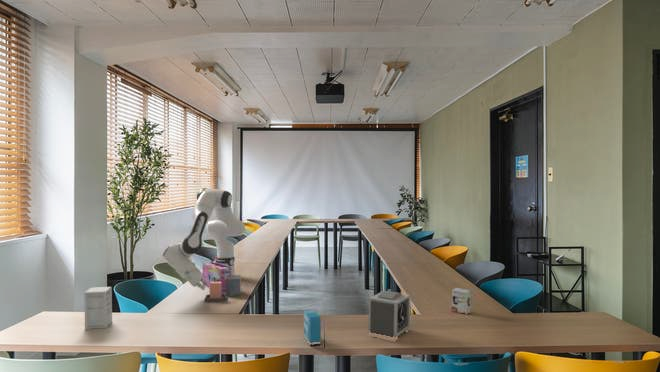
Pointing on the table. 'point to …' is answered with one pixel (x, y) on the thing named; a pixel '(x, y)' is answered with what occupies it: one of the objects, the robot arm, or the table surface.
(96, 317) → the supplement box
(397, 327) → the alarm clock
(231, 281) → the dispenser
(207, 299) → the tray
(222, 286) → the gum box
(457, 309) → the ink box
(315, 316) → the data package
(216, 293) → the salmon pink tall block
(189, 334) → the table surface
